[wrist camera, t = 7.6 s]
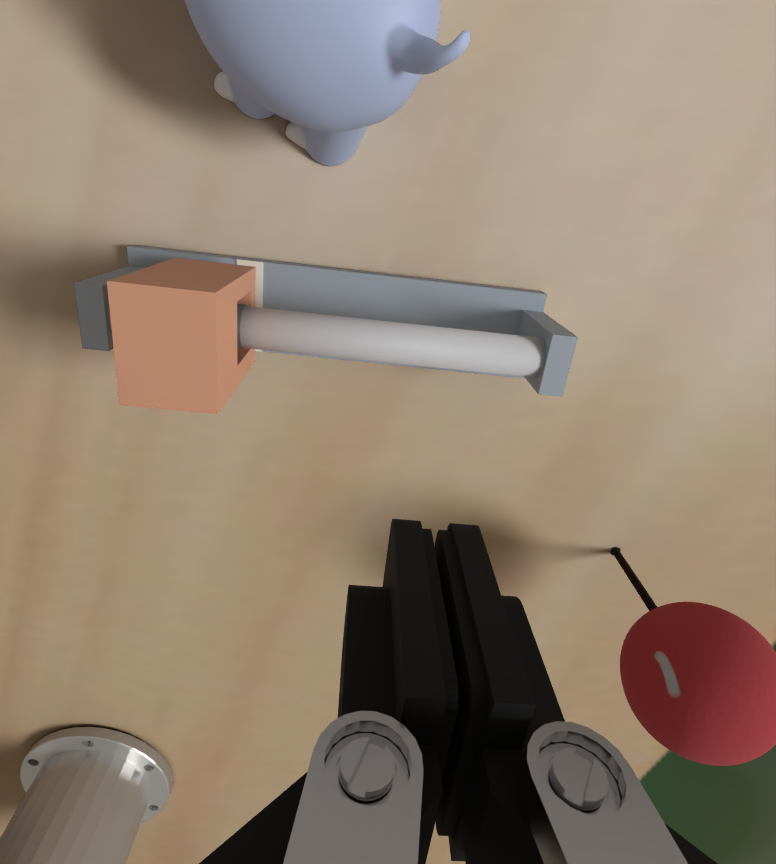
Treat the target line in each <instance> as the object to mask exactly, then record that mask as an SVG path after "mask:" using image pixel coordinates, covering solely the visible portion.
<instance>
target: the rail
mask: <svg viewBox="0 0 776 864" xmlns="http://www.w3.org/2000/svg"><path fill="white" fill-rule="evenodd" d="M127 255H128V266H127V267H123V268H120V269H117V270H114V271H110V272H107V273H104V274H101V275H97V276H94V277H91V278H88V279H84V280H81V281H78V282H75V283H74V285H75V293H76V301H77V309H78V317H79V325H80V333H81V341H82V348H84V349H94V350H104V351H110V350H111V349H113V338H112V328H111V318H110V308H109V298H108V288H107V281H108V280H111V279H114V278H117V277H120V276H123V275H126V274H129V273H132V272H135V271H138V270H141V269H144V268H147V267H149V266H152V265H155V264H158V263H161V262H164V261H167V260H170V259H173V258H181V259H190V260H199V261H208V262H217V263H226V264H234V265H243V266H252V267H256V281H255V307H251V306H247V305H242V304H237V348H240V349H244V348H250V349H255V351H258V352H262V351H263V352H273V353H282V354H292V355H302V356H312V357H321V358H331V359H341V360H351V361H360V362H370V363H380V364H390V365H399V366H409V367H419V368H429V369H438V370H448V371H458V372H468V373H477V374H487V375H497V376H507V377H516V378H526V379H527V381H528V382H529V383H530V384H531V386H532V387H533V388H534V389H535V391H536V392H537V393H538V394H541V395H551V396H561V397H562V395H563V391H564V388H565V384H566V380H567V376H568V373H569V369H570V365H571V361H572V357H573V354H574V350H575V346H576V342H577V338H578V337H577V336H575V335H574V334H573V333H571V332H570V331H568V330H567V329H566V328H564V327H563V326H561V325H560V324H559V323H557V322H556V321H555V320H553V319H552V318H550V317H549V316H548V315H546V314H545V313H543V310H544V306H545V301H546V297H547V294H546V293H544V292H542V291H535V290H526V289H517V288H509V287H500V286H491V285H482V284H474V283H465V282H456V281H447V280H439V279H430V278H421V277H412V276H404V275H395V274H386V273H377V272H368V271H360V270H351V269H342V268H333V267H325V266H316V265H307V264H298V263H290V262H281V261H272V260H263V259H255V258H246V257H237V256H228V255H219V254H211V253H202V252H193V251H184V250H176V249H167V248H158V247H149V246H141V245H131V246H127Z"/></svg>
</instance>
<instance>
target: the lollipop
mask: <svg viewBox="0 0 776 864" xmlns="http://www.w3.org/2000/svg"><path fill="white" fill-rule="evenodd" d="M611 554H612V555H614V556H615V557H616V559H617V561H618V562H619V564H620V565H621V567H622V569H623V570H624V572H625V573H626V575H627V577H628V578H629V580H630V581H631V583H632V584H633V586H634V588H635V589H636V591H637V592H638V594H639V595H640V597H641V598H642V600H643V602H644V603H645V605H646V606H647V608H648V609H649V612H648V613H646V614H645V615H643V616H642V617H641V618H640V619H639V620H638V621H637V622H636V623H635V624H634V625H633V626H632V627H631V629H630V630H629V632H628V633H627V635H626V638H625V640H624V643H623V646H622V650H621V656H620V673H621V680H622V685H623V688H624V692H625V695H626V698H627V700H628V703H629V705H630V707H631V709H632V711H633V712H634V714H635V716H636V717H637V719H638V720H639V722H640V723H641V724H642V726H643V727H644V728H645V729H646V730H647V731H648V733H649V734H651V735H652V736H653V737H654V738H655V739H656V740H657V741H658V742H659V743H661V744H662V745H663V746H665V747H666V748H667V749H669V750H671V751H672V752H674V753H676V754H678V755H680V756H682V757H684V758H687V759H689V760H692V761H695V762H699V763H703V764H708V765H717V766H727V765H735V764H741V763H745V762H748V761H751V760H753V759H755V758H757V757H759V756H761V755H763V754H765V753H766V752H767V751H769V750H770V749H771V748H772V747H773V746H774V745H775V744H776V652H775V651H774V649H773V648H772V646H771V645H770V644H769V642H768V641H767V640H766V639H765V638H764V637H763V636H762V635H761V634H760V633H759V632H758V631H757V630H756V629H755V628H754V627H752V626H751V625H750V624H748V623H747V622H746V621H744V620H743V619H741V618H739V617H738V616H736V615H734V614H732V613H730V612H728V611H726V610H723V609H721V608H718V607H715V606H711V605H707V604H703V603H696V602H677V603H671V604H666V605H663V606H660V607H658V608H657V606H656V605H655V603H654V602H653V600H652V599H651V597H650V596H649V594H648V593H647V591H646V590H645V588H644V587H643V585H642V584H641V582H640V581H639V579H638V578H637V576H636V575H635V573H634V572H633V570H632V569H631V567H630V566H629V564H628V563H627V562H626V560H625V559H624V557H623V556H622V554H621V553H620V548H613V549H612V550H611Z"/></svg>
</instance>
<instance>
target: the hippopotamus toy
mask: <svg viewBox="0 0 776 864" xmlns="http://www.w3.org/2000/svg"><path fill="white" fill-rule="evenodd" d="M184 1H185V4H186V7H187V9H188V12H189V15H190V17H191V19H192V22H193V24H194V26H195V28H196V30H197V32H198V34H199V36H200V38H201V40H202V42H203V44H204V45H205V47H206V49H207V50H208V52H209V53H210V55H211V56H212V58H213V59H214V61H215V62H216V63H217V65H218V66H219V67H220V68H221V70H222V72H220V73H219V74H218V75H217V76H216V78H215V82H214V88H215V90H216V92H217V93H218V94H219V95H220V96H222V97H223V98H225V99H227V100H229V101H232V102H234V103H235V104H236V105H237V107H238V108H239V109H240V110H241V111H242V112H243V113H244V114H246V115H247V116H249V117H251V118H255V119H264V118H268V117H270V116H272V115H274V114H277V115H279V116H280V117H282V118H284V119H286V120H289V121H291V123H289V124H288V126H287V128H286V136H287V137H288V138H289V139H290V140H292V141H293V142H295V143H296V144H297V145H299V146H301V147H302V148H304V149H305V150H306V151H307V152H308V153H309V155H310V156H311V157H312V158H313V159H314V160H316V161H317V162H319V163H321V164H323V165H326V166H336V165H340V164H342V163H344V162H346V161H347V160H348V159H349V158H350V157H351V156H352V155H353V154H354V153H355V151H356V149H357V148H358V146H359V144H360V141H361V139H362V136H363V134H364V132H365V129H366V127H367V126H370V125H373V124H376V123H378V122H381V121H383V120H385V119H387V118H388V117H390V116H391V115H393V114H394V113H395V112H397V111H398V110H399V109H400V108H401V107H402V106H403V104H404V103H405V102H406V101H407V99H408V98H409V97H410V95H411V94H412V92H413V91H414V89H415V87H416V86H417V84H418V82H419V80H420V79H421V77H422V75H423V74H429V73H432V72H435V71H437V70H439V69H441V68H443V67H444V66H446V65H447V64H449V63H450V62H452V61H454V60H455V59H456V58H458V57H459V56H460V55H461V54H462V53H463V52H464V51H465V50H466V48H467V46H468V44H469V42H470V32H469V31H468V30H464V31H463V32H462V33H461V34H460V35H459V36H458V37H457V38H456V39H455V40H454V41H453V42H451V43H450V44H449V45H446V46H442V45H440V44H438V43H437V42H436V39H437V35H438V30H439V24H440V13H441V0H184Z"/></svg>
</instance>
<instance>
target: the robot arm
mask: <svg viewBox="0 0 776 864" xmlns="http://www.w3.org/2000/svg"><path fill="white" fill-rule="evenodd" d="M20 779H21V783H22V786H23V788H24V790H25V792H26V794H25V796H24V798H23V799H22V801H21V803H20V804H19V806H18V808H17V810H16V811H15V813H14V815H13V817H12V818H11V820H10V822H9V823H8V825H7V827H6V829H5V830H4V832H3V834H2V836H1V837H0V864H125V863H126V861H127V858H128V855H129V853H130V850H131V847H132V845H133V842H134V839H135V836H136V834H137V831H138V828H139V826H140V823H142V822H144V821H146V820H148V819H150V818H152V817H154V816H155V815H156V814H158V813H159V812H160V811H161V810H162V809H163V807H164V806H165V805H166V803H167V800H168V798H169V795H170V792H171V788H172V784H173V781H172V773H171V771H170V768H169V766H168V764H167V763H166V761H165V760H164V759H163V757H162V756H161V755H160V754H159V753H158V752H157V751H156V750H155V749H154V748H152V747H151V746H149V745H148V744H146V743H145V742H143V741H141V740H139V739H137V738H135V737H133V736H131V735H128V734H125V733H122V732H119V731H115V730H111V729H106V728H97V727H74V728H69V729H63V730H59V731H57V732H54V733H51V734H48V735H47V736H45V737H43V738H41V739H40V740H38V741H37V742H36V743H35V744H34V745H33V746H32V747H31V749H30V750H29V752H28V753H27V755H26V757H25V758H24V760H23V762H22V765H21V767H20ZM435 821H436V829H437V833H438V835H439V836H449V844H450V853H451V861H466V864H717V863H716V862H714V861H713V860H712V859H710V858H709V857H708V856H706V855H705V854H704V853H703V852H701V851H700V850H699V849H697V848H696V847H695V846H693V845H692V844H691V843H690V842H688V841H687V840H685V839H684V838H683V837H682V836H680V835H679V834H678V833H676V832H675V831H674V830H673V829H671V828H670V827H669V826H667V825H666V824H665V823H664V822H663V820H662V819H661V817H660V815H659V814H658V812H657V810H656V809H655V807H654V805H653V804H652V802H651V800H650V799H649V797H648V795H647V793H646V792H645V790H644V788H643V787H642V785H641V783H640V782H639V780H638V778H637V777H636V775H635V773H634V772H633V770H632V768H631V766H630V765H629V763H628V762H627V761H626V759H625V758H624V757H623V755H622V754H621V753H620V751H619V750H618V749H617V748H616V747H615V746H614V745H612V744H611V743H610V742H609V741H608V740H607V739H606V738H605V737H603V736H602V735H600V734H598V733H597V732H595V731H593V730H591V729H590V728H588V727H585V726H582V725H579V724H576V723H573V722H565V720H564V718H563V715H562V712H561V709H560V707H559V704H558V701H557V698H556V696H555V693H554V690H553V687H552V685H551V682H550V679H549V677H548V674H547V671H546V668H545V666H544V663H543V660H542V657H541V655H540V652H539V649H538V646H537V644H536V641H535V638H534V635H533V633H532V630H531V627H530V624H529V622H528V619H527V616H526V613H525V611H524V608H523V605H522V603H521V601H520V599H518V598H517V597H514V596H501V594H500V591H499V587H498V584H497V581H496V578H495V575H494V572H493V569H492V565H491V562H490V559H489V556H488V553H487V550H486V547H485V544H484V540H483V537H482V534H481V531H480V528H479V526H477V525H464V524H452V523H450V524H449V526H448V528H447V531H446V530H439V531H438V533H437V537H436V542H435V548H434V542H433V537H432V531H431V529H422V525H421V522H420V521H414V520H401V519H392V523H391V529H390V536H389V544H388V551H387V559H386V566H385V574H384V581H383V587H371V586H357V585H349V587H348V595H347V605H346V615H345V625H344V637H343V649H342V662H341V677H340V692H339V707H338V719H336V720H334V721H333V722H331V723H330V724H329V725H328V726H327V728H326V729H325V730H324V731H323V732H322V733H321V734H320V736H319V738H318V741H317V743H316V745H315V747H314V750H313V753H312V757H311V761H310V765H309V768H308V772H307V773H305V774H304V775H303V776H302V777H301V778H300V779H298V780H297V781H296V782H295V783H294V784H293V785H291V786H290V787H289V788H288V789H287V790H285V791H284V792H283V793H282V794H281V795H280V796H278V797H277V798H276V799H275V800H274V801H272V802H271V803H270V804H269V805H268V806H267V807H265V808H264V809H263V810H262V811H261V812H259V813H258V814H257V815H256V816H255V817H254V818H252V819H251V820H250V821H249V822H248V823H247V824H245V825H244V826H243V827H242V828H241V829H239V830H238V831H237V832H236V833H235V834H234V835H232V836H231V837H230V838H229V839H228V840H226V841H225V842H224V843H223V844H222V845H221V846H219V847H218V848H217V849H216V850H215V851H213V852H212V853H211V854H210V855H209V856H208V857H206V858H205V859H204V860H203V861H202V862H201V863H199V864H425V863H426V858H427V854H428V850H429V846H430V842H431V837H432V833H433V829H434V825H435Z"/></svg>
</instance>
